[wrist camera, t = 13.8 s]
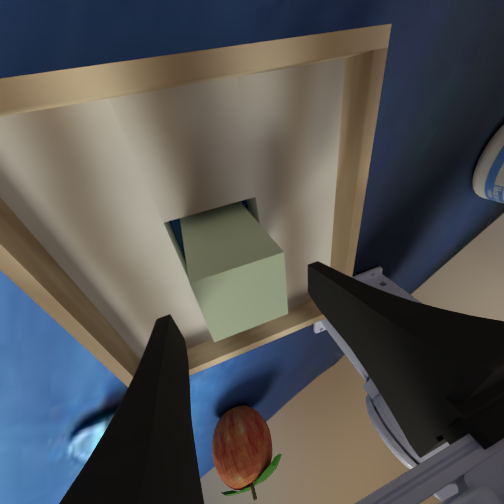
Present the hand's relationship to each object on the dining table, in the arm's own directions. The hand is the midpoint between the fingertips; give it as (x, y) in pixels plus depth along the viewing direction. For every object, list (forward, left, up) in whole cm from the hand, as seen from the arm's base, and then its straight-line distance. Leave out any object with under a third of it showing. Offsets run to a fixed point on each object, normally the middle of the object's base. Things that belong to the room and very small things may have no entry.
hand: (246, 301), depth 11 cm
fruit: (+5, +32, -8) cm, 33 cm away
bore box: (0, 0, -8) cm, 8 cm away
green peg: (0, 0, -8) cm, 8 cm away
